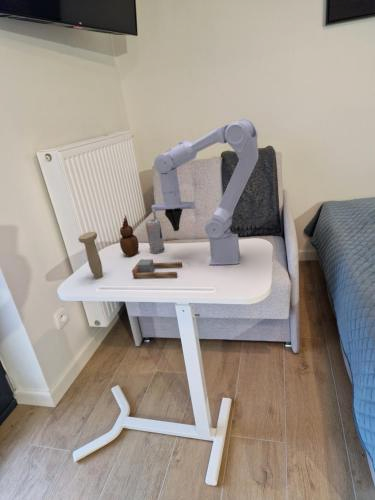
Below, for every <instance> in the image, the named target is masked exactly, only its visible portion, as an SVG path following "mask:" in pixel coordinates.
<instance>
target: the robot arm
mask: <svg viewBox="0 0 375 500" xmlns="http://www.w3.org/2000/svg"><path fill="white" fill-rule="evenodd" d="M217 143H220V144H228V145H229V146H230V147H231V148H232V150H233V151H234V152H235V154H236V156H237V158H238V162H237V164H236V166H235V168H234V170H233V172H232V175H231V177H230V179H229V181H228V184H227V187H226V189H225V190H224V193H223V194H222V198H221V200H220V202H219V203H218V206H217V208H216V210H215V211H214V214H212V217H211V219H209V220H208V221H207V222H206V223H205V226H204V231H205V233H206V235H207V236H208V240H209V247H210V259H209V262H208V265H209V266H212V265H213V266H217V265H221V266H222V265H238V264H239V261H240V255H241V250H240V243H239V235H238V233H232V232H231V228H230V227H231V226H232V224H233V215H234V212H235V211H234V210H235V209H236V206H237V204H238V202H239V200H240V197H241V196H242V194H243V192H244V189H245V187H246V185H247V184H248V181H249V178H250V177H251V175H252V173H253V171H254V168H255V166H256V164H257V162H258V161H259V160H258V159H259V156H260V155H259V147H258V131H257V129H256V127H255V125H254V123H253V122H251V120H249V119H244V118H243V119H240V120H238V121H233V122H231V123H228V124H225V125H223V126H219V127H217V128H215V129H213V130H212V131H210V132H208V133H207V134H205V135H203V136H201V137H200V138H198V139H196V140H195V141H192V142H191V141H189V140H185V141H184V140H181V141H180V142H178V145H176V146H174V147H173V148H168V149H166V152H164V153H159V154H158V155H157V156H156V157H155V159H154V162H153V163H154V164H153V166H154V168H155V170H156V171H157V172H158V175H159V180H160V181H159V182H160V188H161V193H162V200H163V203H158V204H152V205H151V212H153V213H154V212H155V213H156V212H160V211H164V216H166V218H167V220H168V221H169V222H170V224H171V226H172V229H173V232H179V230H180V223H181V217H182V214H183V210H187V209H188V210H189V209H190V210H195V208H196V203H195V201H182V200H181V192H180V191H181V190H180V183H179V177H178V168H179V167H182V166H183V165H185V164H187V163H189V162H191V161H193V160H195V159H196V158H197V154H198V153H199V152H200V151H203V150H205V149H206V148H209V147H211V146H213V145H215V144H217Z"/></svg>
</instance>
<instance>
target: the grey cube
mask: <svg viewBox="0 0 375 500" xmlns="http://www.w3.org/2000/svg"><path fill="white" fill-rule="evenodd" d="M140 260H141V259H140ZM140 260H139V261H140ZM139 261H138V262H139ZM138 262H137V263H138ZM154 263H155V262H154V259H153V258H150V259H147V258H146V259H144V260H141V261H140V262H139V263H138V265H137V264H136V265H137V266H138V271H139V273H149V272H155V270H156V268H155V269H154Z"/></svg>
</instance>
